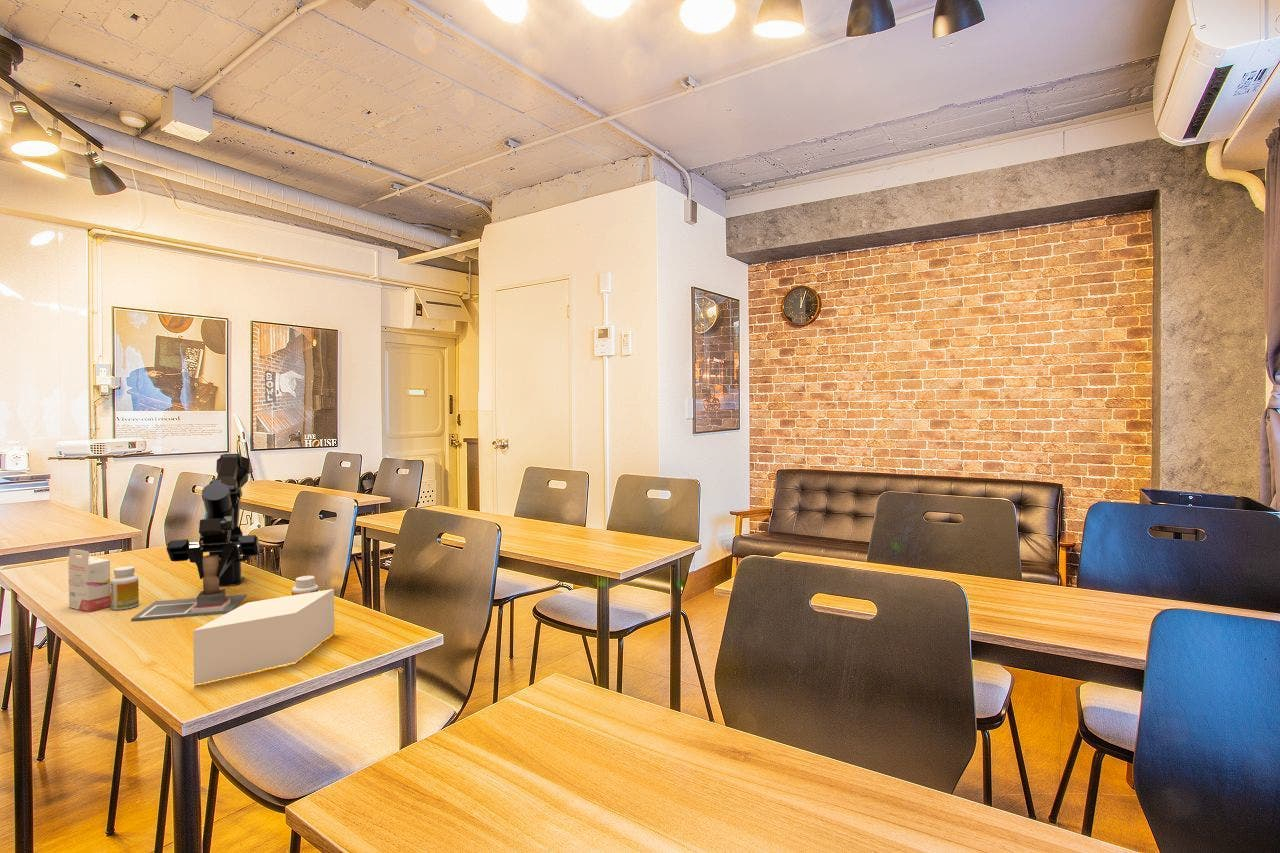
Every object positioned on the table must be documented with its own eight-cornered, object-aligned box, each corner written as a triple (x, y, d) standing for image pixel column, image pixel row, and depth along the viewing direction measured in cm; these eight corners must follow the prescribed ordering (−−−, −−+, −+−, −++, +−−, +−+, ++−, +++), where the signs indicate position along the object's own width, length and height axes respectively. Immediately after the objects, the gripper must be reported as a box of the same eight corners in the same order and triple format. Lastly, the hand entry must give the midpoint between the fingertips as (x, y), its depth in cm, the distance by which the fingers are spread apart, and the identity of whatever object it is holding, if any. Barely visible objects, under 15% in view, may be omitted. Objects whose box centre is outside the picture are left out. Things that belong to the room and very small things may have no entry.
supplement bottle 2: (311, 625, 144) (311, 581, 144) (286, 625, 144) (286, 581, 144) (323, 617, 150) (322, 574, 150) (299, 617, 150) (298, 574, 150)
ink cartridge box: (112, 606, 157) (111, 547, 156) (88, 612, 152) (87, 551, 152) (91, 602, 160) (90, 544, 160) (67, 608, 156) (66, 548, 155)
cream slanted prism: (169, 680, 116) (169, 624, 115) (311, 630, 142) (311, 584, 142) (219, 695, 110) (218, 637, 109) (357, 640, 136) (357, 593, 136)
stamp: (201, 601, 156) (200, 554, 155) (225, 598, 158) (224, 553, 157) (196, 607, 151) (196, 559, 151) (221, 604, 153) (220, 557, 153)
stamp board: (155, 603, 160) (155, 596, 159) (246, 596, 166) (246, 589, 166) (131, 621, 146) (131, 613, 146) (231, 612, 153) (230, 605, 153)
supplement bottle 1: (144, 604, 159) (144, 565, 159) (125, 610, 154) (124, 571, 153) (124, 603, 160) (124, 565, 159) (104, 610, 154) (104, 570, 154)
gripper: (168, 507, 154) (155, 563, 144) (257, 503, 161) (250, 555, 151) (177, 533, 161) (165, 588, 151) (261, 528, 168) (256, 580, 159)
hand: (209, 577), depth 153 cm, fingers closed on stamp, 3 cm apart
